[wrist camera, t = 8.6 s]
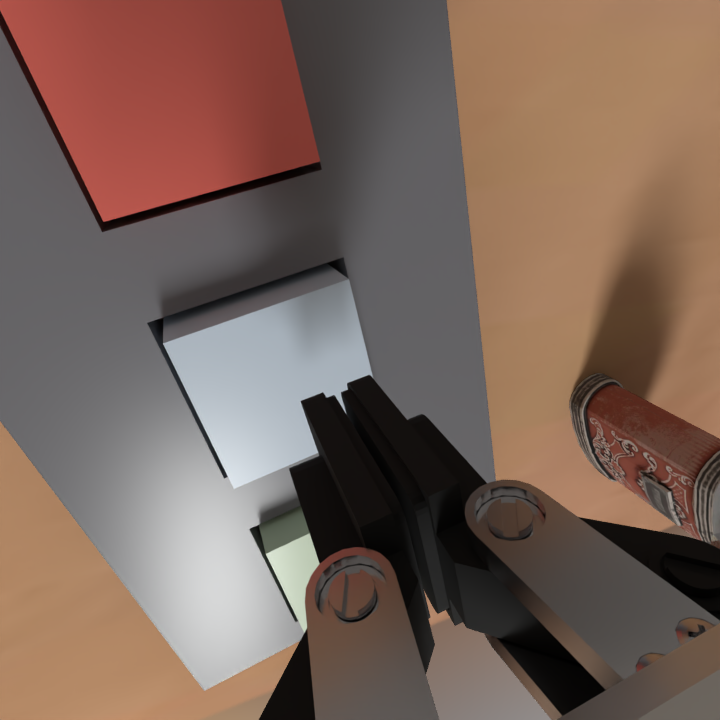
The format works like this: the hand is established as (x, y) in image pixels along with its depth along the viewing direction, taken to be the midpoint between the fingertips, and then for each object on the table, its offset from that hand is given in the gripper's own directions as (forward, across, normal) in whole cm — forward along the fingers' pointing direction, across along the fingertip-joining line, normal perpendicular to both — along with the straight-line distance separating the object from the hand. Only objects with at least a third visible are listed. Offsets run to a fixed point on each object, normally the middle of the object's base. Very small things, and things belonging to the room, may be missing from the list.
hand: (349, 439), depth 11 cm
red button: (+6, +1, -8) cm, 10 cm away
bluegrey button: (+6, +1, 0) cm, 6 cm away
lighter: (+8, -15, +12) cm, 21 cm away
